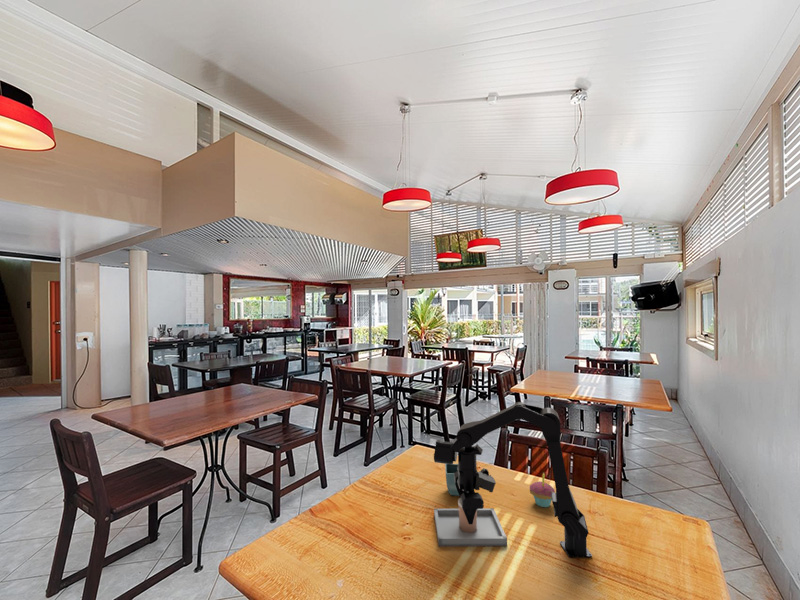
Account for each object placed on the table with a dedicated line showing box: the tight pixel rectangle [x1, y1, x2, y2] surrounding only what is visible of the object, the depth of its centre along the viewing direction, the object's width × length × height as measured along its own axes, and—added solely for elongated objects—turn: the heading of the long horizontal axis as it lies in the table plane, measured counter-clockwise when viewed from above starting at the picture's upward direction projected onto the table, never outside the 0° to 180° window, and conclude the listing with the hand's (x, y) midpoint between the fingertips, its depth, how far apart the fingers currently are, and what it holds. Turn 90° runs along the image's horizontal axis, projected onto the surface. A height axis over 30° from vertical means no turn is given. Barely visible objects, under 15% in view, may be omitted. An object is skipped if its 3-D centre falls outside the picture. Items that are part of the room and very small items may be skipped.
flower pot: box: [444, 463, 460, 497], centre depth 138 cm, size 9×9×9 cm
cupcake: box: [529, 472, 556, 508], centre depth 130 cm, size 9×8×12 cm
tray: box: [433, 507, 508, 547], centre depth 115 cm, size 16×20×2 cm
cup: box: [457, 497, 477, 533], centre depth 115 cm, size 6×6×8 cm
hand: (468, 516), depth 115 cm, fingers open, 8 cm apart
